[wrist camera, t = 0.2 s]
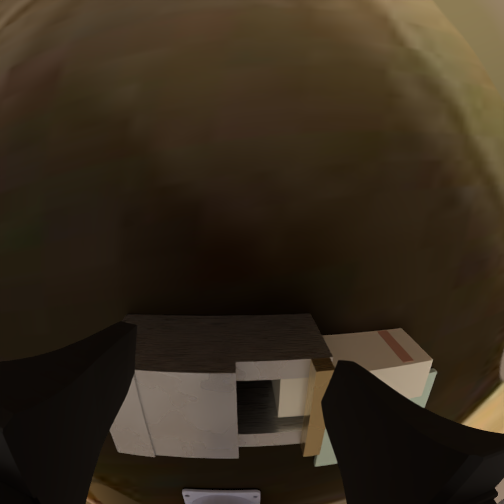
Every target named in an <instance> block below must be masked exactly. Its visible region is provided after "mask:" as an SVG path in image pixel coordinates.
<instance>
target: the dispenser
mask: <svg viewBox="0 0 504 504" xmlns="http://www.w3.org/2000/svg"><path fill="white" fill-rule="evenodd" d="M122 321H123V322H127V323H131V324H135V325H138V326H137V339H136V355H135V373H134V376H133V379H132V382H131V385H130V388H129V391H128V394H127V396H126V398H125V400H124V402H123V404H122V406H121V408H120V410H119V412H118V414H117V416H116V418H115V420H114V422H113V424H112V426H111V428H110V432H111V435H112V437H113V440H114V443H115V445H116V448H117V450H118V452H121V453H127V454H134V455H142V456H150V457H155V456H156V455H163V456H176V457H192V458H239V450H238V447H250V446H272V445H286V444H297V443H300V446H301V450H302V454H303V457H305V456H314V455H320V450H321V446H322V441H323V437H324V432H325V424H324V419H323V413H322V407H321V400H322V398H323V396H324V394H325V391H326V389H327V387H328V384H329V382H330V379H331V377H332V374H333V372H334V370H335V367H334V365H333V363H332V362H333V355H332V354H331V352H330V350H329V348H328V346H327V344H326V342H325V340H324V338H323V336H322V335H321V333H320V331H319V329H318V327H317V325H316V323H315V321H314V320H313V318H312V316H311V314H310V313H307V314H282V315H236V316H186V315H141V314H127V315H126V316H125V318H124V319H123V320H122ZM308 377H309V380H308V388H307V396H306V404H305V412H304V415H303V416H291V417H278V414H277V408H276V403H275V397H274V392H273V386H272V381H271V380H277V379H294V378H308ZM250 380H262V381H250Z"/></svg>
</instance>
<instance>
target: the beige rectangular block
mask: <svg viewBox="0 0 504 504" xmlns="http://www.w3.org/2000/svg"><path fill="white" fill-rule="evenodd" d="M323 338H324V340H325V342H326V344H327V346H328V348H329V350H330V352H331V354H332V355H333V362H332V363H333V365H334V367H336V365H337V362H338V360H346V361H354V362H355V363H357V364H359V365H360V366H362V367H364V368H365V369H366V370H368V371H369V372H371V373H372V374H373V375H375V376H376V377H377V378H379V379H380V380H382V381H383V382H384V383H386V384H387V385H389V386H390V387H391V388H393V389H394V390H396V391H397V392H399V393H400V394H402V395H403V396H405V397H406V398H408V399H410V398H415V397H419V396H422V393H423V390H424V387H425V384H426V381H427V378H428V375H429V372H430V368H431V365H432V362H433V359H432V358H431V357H430V356H429V355H428V354H427V353H426V352H425V351H424V350H423V349H422V348H421V347H420V346H419V345H418V344H417V343H416V342H415V341H414V340H413V339H412V338H411V337H410V336H409V335H408V334H407V333H406V332H405V331H404V330H403V329H402V328H398V329H389V330H380V331H371V332H360V333H349V334H337V335H323ZM308 380H309V377H308V378H294V379H277V380H271V381H272V386H273V392H274V397H275V403H276V408H277V414H278V417H291V416H303V415H304V412H305V404H306V396H307V388H308Z"/></svg>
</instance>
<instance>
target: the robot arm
mask: <svg viewBox="0 0 504 504" xmlns="http://www.w3.org/2000/svg"><path fill="white" fill-rule="evenodd" d="M137 326H138V325H135V324H131V323H127V322H123V321H120V322H118V323H116V324H114V325H111V326H110V327H108V328H106V329H104V330H102V331H100V332H98V333H96V334H93V335H91V336H89V337H87V338H85V339H83V340H81V341H78V342H76V343H73V344H71V345H69V346H66V347H64V348H61V349H58V350H55V351H52V352H49V353H45V354H42V355H38V356H34V357H29V358H23V359H17V360H12V361H2V362H0V504H86V499H87V495H88V491H89V487H90V484H91V480H92V476H93V473H94V469H95V466H96V463H97V460H98V457H99V454H100V451H101V448H102V445H103V443H104V441H105V438H106V436H107V434H108V432H109V430H110V428H111V426H112V424H113V422H114V420H115V418H116V416H117V414H118V412H119V410H120V408H121V406H122V404H123V402H124V400H125V398H126V396H127V394H128V391H129V388H130V385H131V382H132V379H133V376H134V373H135V355H136V339H137ZM321 407H322V413H323V419H324V424H325V427H326V430H327V433H328V436H329V439H330V442H331V445H332V448H333V451H334V454H335V457H336V460H337V463H338V466H339V469H340V472H341V476H342V479H343V485H344V490H345V495H346V501H347V504H497V503H496V502H495V500H494V498H496V497H497V496H498V492H497V491H496V489H495V487H496V486H497V485H498V484H499V483H500V481H501V480H502V479H503V478H504V434H502V433H495V432H489V431H484V430H480V429H476V428H472V427H468V426H465V425H462V424H459V423H456V422H454V421H451V420H449V419H446V418H444V417H441V416H439V415H437V414H435V413H433V412H431V411H429V410H427V409H425V408H423V407H421V406H419V405H418V404H416V403H414V402H413V401H411V400H409V399H408V398H406V397H405V396H403V395H402V394H400V393H399V392H397V391H396V390H394V389H393V388H391V387H390V386H389V385H387V384H386V383H384V382H383V381H382V380H380V379H379V378H377V377H376V376H375V375H373V374H372V373H371V372H369V371H368V370H366V369H365V368H364V367H362V366H360V365H359V364H357V363H355V362H354V361H346V360H338V362H337V365H336V367H335V370H334V372H333V374H332V377H331V379H330V382H329V384H328V387H327V389H326V391H325V394H324V396H323V398H322V400H321ZM182 494H183V498H184V501H185V504H260V491H259V490H200V489H183V490H182ZM498 504H504V499H503V500H501V501H500V502H499V503H498Z"/></svg>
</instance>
